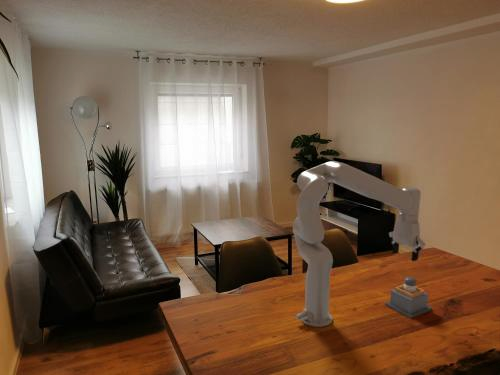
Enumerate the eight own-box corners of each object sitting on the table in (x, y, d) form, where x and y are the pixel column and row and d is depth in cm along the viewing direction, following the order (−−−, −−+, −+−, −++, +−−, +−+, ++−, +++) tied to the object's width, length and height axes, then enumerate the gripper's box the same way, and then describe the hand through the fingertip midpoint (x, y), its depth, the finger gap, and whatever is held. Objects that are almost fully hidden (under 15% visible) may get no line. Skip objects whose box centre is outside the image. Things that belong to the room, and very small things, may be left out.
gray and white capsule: (410, 295, 163) (412, 282, 162) (401, 291, 167) (402, 278, 166) (417, 292, 166) (419, 279, 165) (407, 288, 170) (409, 275, 169)
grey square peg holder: (410, 318, 159) (412, 299, 157) (384, 305, 170) (386, 286, 168) (432, 309, 166) (433, 290, 164) (406, 297, 177) (407, 279, 175)
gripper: (385, 213, 167) (382, 251, 170) (420, 223, 152) (416, 265, 155) (397, 211, 170) (394, 249, 173) (432, 221, 156) (428, 262, 159)
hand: (404, 256), depth 164 cm, fingers open, 9 cm apart
